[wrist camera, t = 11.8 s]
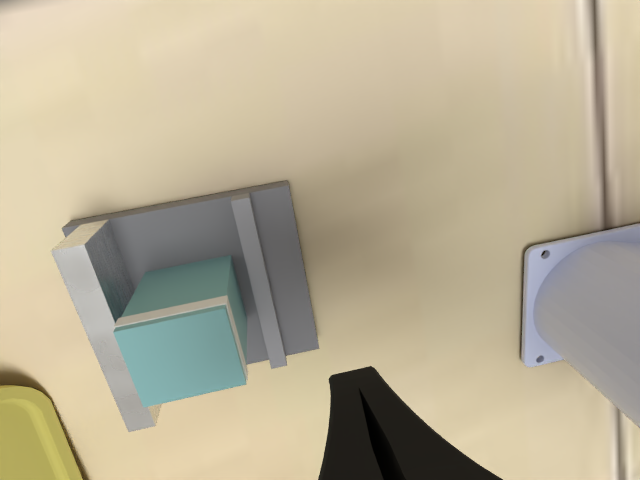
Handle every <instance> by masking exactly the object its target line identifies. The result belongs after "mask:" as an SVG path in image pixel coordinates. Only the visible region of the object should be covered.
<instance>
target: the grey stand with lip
mask: <svg viewBox="0 0 640 480" xmlns="http://www.w3.org/2000/svg"><path fill="white" fill-rule="evenodd" d="M108 219H109V222H110V224H111V227H112V230H113V233H114V235H115V238H116V241H117V244H118V246H119V249H120V252H121V255H122V257H123V260H124V263H125V266H126V268H127V271H128V274H129V277H130V280H131V282H132V285H133V288H134V291H135V290H136V288H137V287H138V285H139V283H140V281H141V279H142V277H143V275H144V274H145V272H149V271H154V270H159V269H164V268H169V267H174V266H179V265H184V264H189V263H193V262H198V261H203V260H208V259H213V258H218V257H223V256H228V255H231V257H232V260H233V264H234V268H235V272H236V276H237V280H238V284H239V287H240V291H241V295H242V299H243V303H244V307H245V311H246V315H247V364H251V363H256V362H260V361H265V360H270V365H271V369H273V368H277V367H282V366H286V365H287V361H286V356H287V355H292V354H297V353H301V352H306V351H310V350H315V349H319V345H318V339H317V334H316V329H315V323H314V318H313V313H312V307H311V302H310V297H309V291H308V286H307V280H306V275H305V270H304V264H303V259H302V254H301V248H300V243H299V238H298V232H297V227H296V221H295V216H294V211H293V205H292V200H291V195H290V189H289V185H288V182H287V181H281V182H276V183H271V184H265V185H260V186H255V187H249V188H244V189H239V190H233V191H228V192H223V193H217V194H212V195H207V196H201V197H196V198H191V199H185V200H180V201H175V202H169V203H164V204H159V205H153V206H148V207H143V208H137V209H132V210H127V211H121V212H116V213H111V214H105V215H100V216H95V217H89V218H84V219H79V220H73V221H70V222H69V223H68V224H66V225H65V226H64V227H63V228H62V230H63V232H64V235H65V237H67V236H68V235H70V234H71V233H72V232H73V231H74V230H75V229H76V228H78V227H79V226H80V225H82V224H87V223H92V222H98V221H103V220H108Z"/></svg>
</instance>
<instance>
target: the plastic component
mask: <svg viewBox="0 0 640 480" xmlns="http://www.w3.org/2000/svg"><path fill="white" fill-rule="evenodd" d="M0 480H83V479H82V476H81V474H80V471H79V469H78V466H77V464H76V461H75V459H74V456H73V454H72V452H71V449H70V447H69V444H68V442H67V439H66V437H65V434H64V432H63V429H62V427H61V424H60V422H59V420H58V417H57V415H56V412H55V410H54V407H53V405H52V402H51V400H50V399H49V398H48V397H47V396H46V395H44V394H43V393H42V392H40V391H38V390H36V389H33V388H31V387H23V386H15V385H3V386H0Z"/></svg>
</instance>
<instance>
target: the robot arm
mask: <svg viewBox="0 0 640 480" xmlns="http://www.w3.org/2000/svg"><path fill="white" fill-rule="evenodd" d="M545 250H546V251H545ZM543 251H545V254H544V255H542V256H541V254H542V252H543ZM538 356H539V357H538ZM537 357H538V358H537ZM521 360H522V362H523V363H524V364H525V366H527V367H534V366H538V365H543V364H547V363H551V362H555V361H560V360H566V361H567V362H568V363H569V364H570V365H571V366H572V367H573V368H574V369H575V370H576V371H578V372H579V373H580V374H581V375H582V376H583V377H584V378H585V379H586V380H587V381H589V382H590V383H591V384H592V385H593V386H594V387H595V388H596V389H597V390H598V391H600V392H601V393H602V394H603V395H604V396H605V397H606V398H607V399H608V400H609V401H610V402H612V403H613V404H614V405H615V406H616V407H617V408H618V409H619V410H620V411H621V412H623V413H624V414H625V415H626V416H627V417H628V418H629V419H630V420H631V421H632V422H634V423H635V424H636V425H637V426H638V427H639V428H640V223H639V224H634V225H629V226H625V227H620V228H615V229H610V230H605V231H601V232H596V233H591V234H586V235H582V236H577V237H572V238H567V239H563V240H558V241H553V242H548V243H544V244H539V245H534V246H531V247H529V248H528V249H527V250H526V252H525V256H524V288H523V321H522V354H521ZM329 383H330V390H331V406H330V418H329V428H328V435H327V441H326V447H325V452H324V458H323V462H322V467H321V471H320V475H319V479H318V480H503V479H501V478H499V477H498V476H496V475H495V474H493V473H491V472H490V471H488V470H486V469H485V468H483V467H482V466H480V465H479V464H477V463H476V462H474V461H473V460H472V459H470V458H469V457H467V456H466V455H464V454H463V453H462V452H460V451H459V450H458V449H456V448H455V447H454V446H452V445H451V444H450V443H449V442H447V441H446V440H445V439H444V438H442V437H441V436H440V435H439V434H438V433H436V432H435V431H434V430H433V429H432V428H431V427H430V426H428V425H427V424H426V423H425V422H424V421H423V420H422V419H421V418H420V417H419V416H417V415H416V414H415V413H414V412H413V411H412V410H411V409H410V408H409V407H408V406H407V405H406V404H405V403H404V402H403V401H402V400H401V399H400V398H399V397H398V395H397V394H396V393H395V392H394V391H393V390H392V389H391V388H390V387H389V385H388V384H387V383H386V382H385V381H384V380H383V378H382V377H381V376H380V375H379V373H378V372H377V371H376V369H375V368H373V367H372V366H370V367H365V368H361V369H357V370H352V371H348V372H343V373H339V374H335V375H332V376H331V377H330V378H329Z"/></svg>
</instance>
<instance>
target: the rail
mask: <svg viewBox="0 0 640 480" xmlns="http://www.w3.org/2000/svg"><path fill="white" fill-rule="evenodd" d="M51 252H52V255H53V257H54V259H55V262H56V264H57V266H58V269H59V271H60V273H61V276H62V278H63V280H64V283H65V285H66V287H67V290H68V292H69V294H70V297H71V299H72V301H73V304H74V306H75V308H76V311H77V313H78V315H79V318H80V320H81V322H82V325H83V327H84V329H85V332H86V334H87V336H88V339H89V341H90V343H91V346H92V348H93V350H94V353H95V355H96V357H97V359H98V362H99V364H100V366H101V369H102V371H103V373H104V376H105V378H106V380H107V383H108V385H109V387H110V390H111V392H112V394H113V397H114V399H115V401H116V404H117V406H118V408H119V411H120V413H121V415H122V418H123V420H124V422H125V425H126V427H127V429H128V432H131V431H136V430H140V429H144V428H149V427H153V426H156V423H157V419H158V415H159V412H160V408H161V404H157V405H153V406H149V407H144V408H143V405H142V403H141V400H140V398H139V395H138V393H137V390H136V388H135V385H134V383H133V380H132V378H131V375H130V373H129V371H128V368H127V366H126V363H125V361H124V358H123V356H122V353H121V351H120V348H119V346H118V343H117V341H116V338H115V336H114V333H113V331H114V325H115V323H116V321H117V320H118V318H121V316H122V315H123V313H124V311H125V309H126V307H127V305H128V303H129V301H130V300H131V298H132V296H133V294H134V292H135V291H134V288H133V285H132V282H131V280H130V277H129V274H128V271H127V268H126V266H125V263H124V260H123V257H122V255H121V252H120V249H119V246H118V244H117V241H116V238H115V235H114V233H113V230H112V227H111V224H110V222H109V219H108V220H103V221H98V222H92V223H87V224H82V225H80V226H79V227H78V228H76V229H75V230H74V231H73V232H72V233H71V234H70V235H68V236H67V237H66V238H65V239H64V240H63V241H62V242H60V243H59V244H58V245H57V246H56V247H55V248H54V249H53V250H51Z"/></svg>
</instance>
